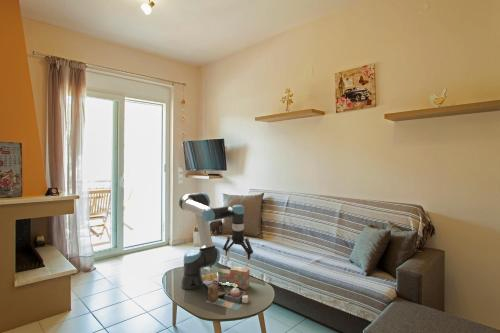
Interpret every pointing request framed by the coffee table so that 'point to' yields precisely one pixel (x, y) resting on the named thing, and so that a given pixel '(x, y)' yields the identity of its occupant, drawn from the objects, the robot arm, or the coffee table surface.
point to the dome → (235, 292)
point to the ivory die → (245, 298)
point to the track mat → (227, 304)
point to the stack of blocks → (235, 276)
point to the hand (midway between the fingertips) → (237, 262)
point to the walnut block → (212, 293)
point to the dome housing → (234, 299)
